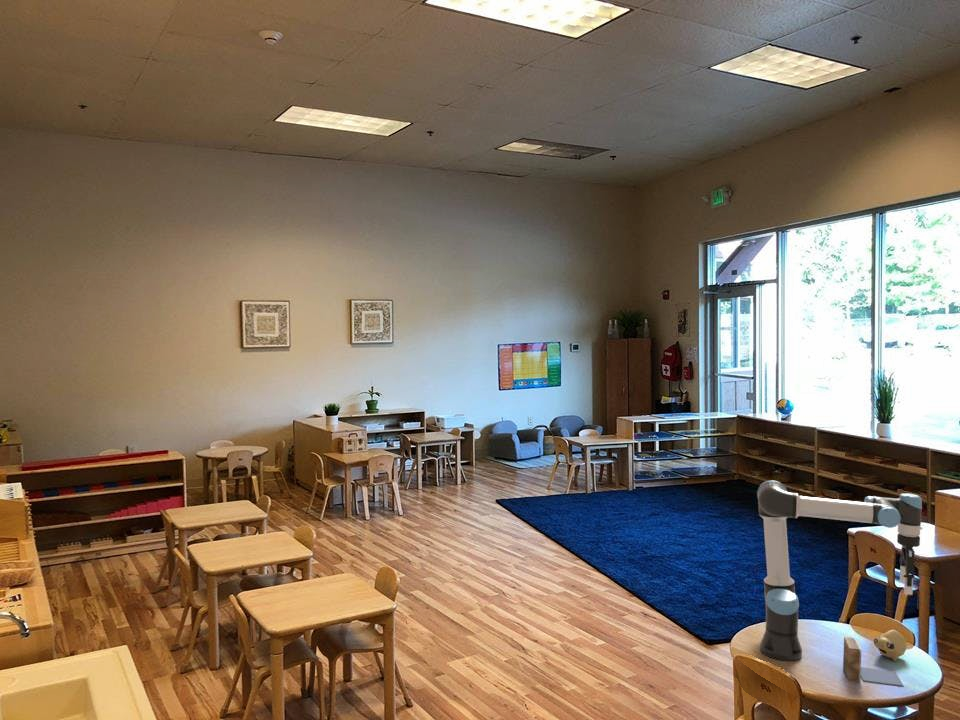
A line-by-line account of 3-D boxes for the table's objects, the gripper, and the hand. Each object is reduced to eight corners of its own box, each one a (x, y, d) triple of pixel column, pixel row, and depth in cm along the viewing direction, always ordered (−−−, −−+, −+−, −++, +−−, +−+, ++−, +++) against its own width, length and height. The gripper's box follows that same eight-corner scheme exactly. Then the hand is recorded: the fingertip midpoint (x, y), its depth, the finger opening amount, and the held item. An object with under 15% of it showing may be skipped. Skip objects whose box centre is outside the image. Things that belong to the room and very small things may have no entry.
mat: (863, 681, 263) (863, 680, 263) (856, 667, 274) (856, 666, 274) (903, 686, 260) (903, 685, 260) (895, 672, 270) (895, 671, 270)
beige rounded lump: (867, 656, 284) (868, 629, 283) (885, 649, 290) (886, 623, 289) (893, 666, 275) (894, 638, 275) (910, 659, 281) (911, 632, 281)
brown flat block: (848, 680, 264) (849, 648, 263) (843, 668, 273) (844, 636, 273) (860, 682, 263) (861, 649, 262) (854, 669, 272) (855, 638, 272)
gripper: (925, 544, 268) (921, 600, 269) (915, 527, 291) (912, 579, 292) (901, 541, 271) (898, 597, 272) (893, 525, 294) (891, 576, 295)
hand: (905, 588), depth 282 cm, fingers open, 13 cm apart
